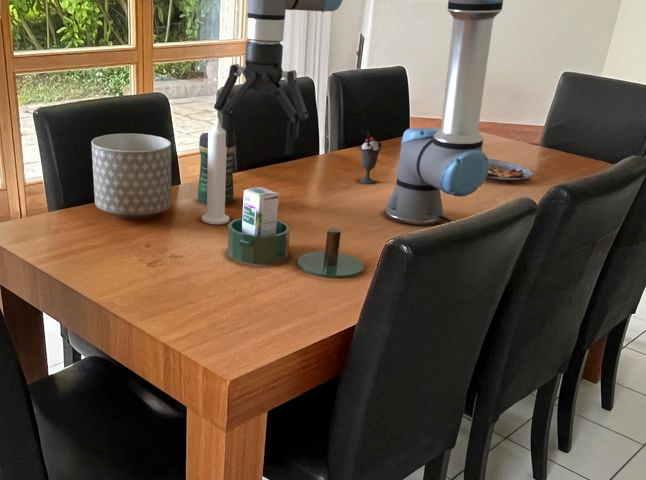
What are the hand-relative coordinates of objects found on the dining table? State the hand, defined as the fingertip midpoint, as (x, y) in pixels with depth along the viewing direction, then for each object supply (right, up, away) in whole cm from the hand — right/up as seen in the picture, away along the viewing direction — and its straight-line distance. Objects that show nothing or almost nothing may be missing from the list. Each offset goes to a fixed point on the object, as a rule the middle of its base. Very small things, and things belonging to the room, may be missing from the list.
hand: (258, 149), depth 160 cm
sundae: (+33, +11, +69) cm, 78 cm away
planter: (-32, -8, +29) cm, 44 cm away
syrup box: (0, -21, +8) cm, 23 cm away
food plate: (+77, +17, +85) cm, 116 cm away
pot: (0, -21, +9) cm, 23 cm away
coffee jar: (-12, -1, +43) cm, 45 cm away
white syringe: (-11, -9, +29) cm, 32 cm away
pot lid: (+16, -24, +4) cm, 29 cm away
